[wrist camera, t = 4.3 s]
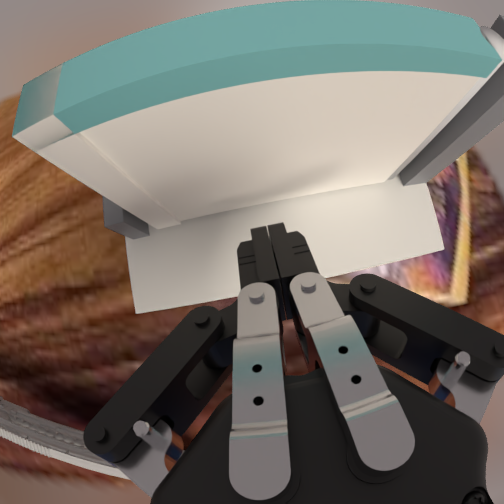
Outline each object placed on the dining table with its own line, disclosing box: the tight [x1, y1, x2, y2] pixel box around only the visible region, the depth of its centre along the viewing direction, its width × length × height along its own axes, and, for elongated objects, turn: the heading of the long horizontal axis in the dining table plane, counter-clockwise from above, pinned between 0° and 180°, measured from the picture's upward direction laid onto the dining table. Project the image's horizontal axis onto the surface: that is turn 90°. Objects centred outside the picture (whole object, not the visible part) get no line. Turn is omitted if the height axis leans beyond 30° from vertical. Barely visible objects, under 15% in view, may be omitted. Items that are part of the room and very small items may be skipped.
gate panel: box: [12, 0, 504, 229], centre depth 13 cm, size 16×2×13 cm, turn 101°
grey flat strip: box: [0, 397, 184, 479], centre depth 17 cm, size 2×30×8 cm, turn 84°
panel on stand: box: [103, 15, 504, 314], centre depth 13 cm, size 21×15×15 cm
